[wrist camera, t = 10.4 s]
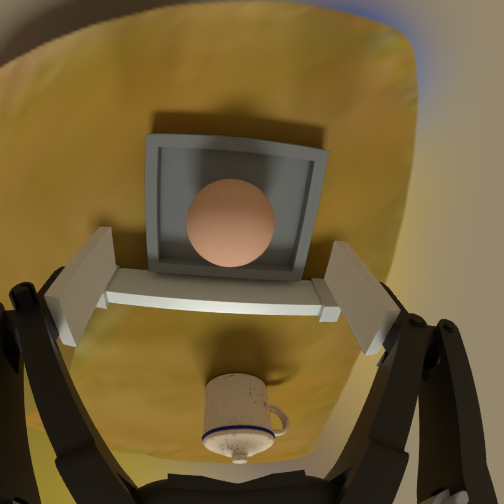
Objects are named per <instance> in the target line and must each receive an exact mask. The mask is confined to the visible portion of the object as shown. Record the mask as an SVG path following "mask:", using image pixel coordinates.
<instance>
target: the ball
mask: <svg viewBox="0 0 504 504" xmlns="http://www.w3.org/2000/svg"><path fill="white" fill-rule="evenodd" d="M186 227H187V233H188V237H189V240H190V242H191V244H192V246H193V247H194V249H195V250H196V251H197V252H198V253H199V255H201V256H202V257H203V258H204V259H206V260H207V261H209V262H211V263H213V264H216V265H219V266H223V267H238V266H242V265H245V264H248V263H250V262H252V261H253V260H255V259H256V258H258V257H259V256H260V255H261V254H262V253H263V252H264V251H265V250H266V248H267V247H268V245H269V243H270V242H271V239H272V237H273V233H274V227H275V218H274V213H273V209H272V206H271V204H270V202H269V200H268V199H267V197H266V196H265V194H264V193H263V192H262V191H261V190H260V189H258V188H257V187H256V186H254V185H252V184H251V183H248V182H246V181H243V180H239V179H223V180H218V181H216V182H213V183H211V184H209V185H207V186H206V187H204V188H203V189H202V190H201V191H200V192H199V193H198V194H197V195H196V196H195V198H194V199H193V201H192V202H191V204H190V207H189V209H188V213H187V219H186Z"/></svg>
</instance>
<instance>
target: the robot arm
mask: <svg viewBox="0 0 504 504" xmlns="http://www.w3.org/2000/svg"><path fill="white" fill-rule="evenodd" d="M115 270H116V262H115V255H114V247H113V239H112V229H111V227H99V228H98V229H97V230H96V231H95V233H94V234H93V235H92V236H91V237H90V238H89V239H88V240H87V242H86V243H85V244H84V245H83V246H82V247H81V249H80V250H79V251H78V252H77V253H76V254H75V256H74V257H73V258H72V259H71V261H70V262H69V263H68V264H67V265H66V267H63V266H62V267H60V268H59V269H57V270H56V271H54V273H53V274H52V275H51V276H50V279H48V280H47V281H46V284H44V285H43V287H42V288H41V289H40V291H39V292H38V293H36V290H35V287H34V285H33V284H32V283H30V282H23V283H20V284H17V285H16V286H14V287H13V288H12V289H11V291H10V292H9V297H10V300H11V302H12V305H13V307H14V310H8V311H5V308H4V306H3V304H2V303H1V302H0V504H41V500H40V496H39V491H38V487H37V483H36V479H35V475H34V471H33V466H32V461H31V456H30V451H29V444H28V437H27V429H26V419H25V407H24V363H25V368H26V372H27V376H28V379H29V383H30V386H31V389H32V393H33V396H34V400H35V403H36V406H37V409H38V411H39V414H40V417H41V420H42V422H43V425H44V428H45V430H46V433H47V435H48V437H49V440H50V442H51V444H52V446H53V448H54V451H55V453H56V456H57V458H56V459H55V464H56V467H57V469H58V471H59V473H60V475H61V477H62V479H63V481H64V483H65V484H66V486H67V488H68V490H69V491H70V493H71V495H72V496H73V498H74V500H75V502H76V503H77V504H392V503H393V501H394V498H395V496H396V494H397V491H398V489H399V486H400V483H401V481H402V478H403V475H404V472H405V469H406V466H407V463H408V459H409V454H408V453H407V452H405V451H404V448H405V445H406V441H407V438H408V434H409V431H410V427H411V423H412V419H413V415H414V410H415V406H416V402H417V397H418V396H419V397H418V398H419V427H420V428H419V437H420V439H419V440H420V441H419V465H418V478H417V504H498V502H497V498H496V495H495V491H494V487H493V484H492V480H491V477H490V474H489V470H488V468H487V463H486V450H485V440H484V432H483V425H482V418H481V413H480V407H479V402H478V397H477V393H476V388H475V384H474V380H473V376H472V372H471V368H470V365H469V361H468V357H467V354H466V351H465V348H464V345H463V341H462V338H461V335H460V332H459V330H458V328H457V326H456V325H455V324H454V323H453V322H452V321H450V320H447V319H441V320H440V321H439V322H438V324H437V326H430V325H427V323H426V322H425V320H424V319H423V318H422V317H420V316H418V315H416V314H413V313H408V312H407V310H406V309H405V308H404V307H403V305H402V304H401V303H400V301H399V300H398V299H397V297H396V296H395V295H394V294H393V292H392V291H391V290H390V289H389V287H387V286H386V285H385V284H383V283H382V282H379V281H378V280H377V279H376V278H375V276H374V275H373V274H372V273H371V271H370V270H369V269H368V268H367V266H366V265H365V264H364V263H363V262H362V260H361V259H360V258H359V257H358V256H357V254H356V253H355V252H354V251H353V250H352V248H351V247H350V246H349V245H348V244H347V243H346V241H334V245H333V248H332V252H331V256H330V259H329V263H328V266H327V270H326V273H325V277H324V280H325V282H326V284H327V286H328V287H329V289H330V291H331V293H332V295H333V296H334V298H335V300H336V302H337V304H338V306H339V307H340V309H341V311H342V313H343V315H344V317H345V319H346V321H347V322H348V324H349V326H350V328H351V330H352V332H353V334H354V336H355V338H356V340H357V342H358V344H359V346H360V348H361V349H362V351H363V353H364V355H372V354H377V353H378V352H379V350H380V348H381V347H382V345H383V346H384V348H385V350H386V351H385V352H384V354H383V356H382V357H381V359H380V361H379V362H378V364H377V366H379V368H378V370H377V373H376V376H375V379H374V381H373V384H372V387H371V389H370V392H369V394H368V397H367V399H366V402H365V404H364V406H363V409H362V411H361V413H360V416H359V418H358V420H357V422H356V425H355V427H354V429H353V431H352V433H351V435H350V437H349V439H348V441H347V443H346V445H345V447H344V449H343V451H342V453H341V455H340V457H339V459H338V460H337V462H336V464H335V465H334V467H333V468H332V469H331V471H330V472H329V473H328V474H327V476H326V477H325V478H324V479H321V478H317V477H313V476H306V475H305V471H304V470H299V471H292V472H284V473H275V474H270V475H267V476H264V477H261V478H258V479H254V480H251V481H247V482H244V483H239V484H238V483H231V482H226V481H221V480H216V479H212V478H208V477H204V476H192V475H179V474H168V479H164V480H159V481H155V482H151V483H149V484H146V485H144V486H142V487H140V488H138V487H137V486H136V485H135V484H134V482H133V481H132V480H131V479H130V477H129V476H128V475H127V474H126V473H125V471H124V470H123V469H122V468H121V466H120V465H119V463H118V462H117V461H116V459H115V458H114V456H113V455H112V453H111V452H110V450H109V448H108V447H107V445H106V444H105V442H104V440H103V439H102V437H101V436H100V434H99V432H98V430H97V429H96V427H95V425H94V423H93V422H92V420H91V418H90V416H89V414H88V412H87V411H86V409H85V407H84V405H83V403H82V401H81V399H80V397H79V395H78V392H77V390H76V388H75V386H74V384H73V382H72V379H71V377H70V375H69V372H68V370H67V368H66V365H65V363H64V360H63V358H62V355H61V352H60V350H59V347H58V345H57V342H56V340H57V338H58V336H60V338H61V340H62V343H63V344H65V345H70V346H74V347H77V345H78V343H79V341H80V339H81V336H82V334H83V332H84V330H85V328H86V326H87V324H88V321H89V319H90V317H91V315H92V313H93V311H94V309H95V307H96V305H97V303H98V301H99V299H100V297H101V296H102V294H103V292H104V290H105V288H106V286H107V284H108V282H109V281H110V279H111V277H112V275H113V273H114V272H115Z"/></svg>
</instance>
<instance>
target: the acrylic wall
mask: <svg viewBox="0 0 504 504" xmlns="http://www.w3.org/2000/svg"><path fill="white" fill-rule="evenodd" d="M110 302H112V303H120V304H129V305H137V306H147V307H157V308H167V309H179V310H191V311H205V312H221V313H240V314H266V315H317V318H318V320H319V322H337V320H338V317H339V315H340V312H341V309H340V307H339V306H338V304H337V302H336V300H335V298H334V296H333V295H332V293H331V291H330V289H329V287H328V286H327V284H326V282H325V280H324V279H323V278H311V280H301V281H284V280H264V279H246V278H229V277H214V276H199V275H185V274H172V273H160V272H149V270H139V269H127V268H120V266H119V265H116V270H115V272H114V273H113V275H112V277H111V279H110V281H109V282H108V284H107V286H106V288H105V290H104V292H103V294H102V296H101V297H100V299H99V301H98V303H97V305H96V307H99V308H106V309H107V307H108V305H109V303H110Z"/></svg>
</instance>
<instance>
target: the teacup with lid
mask: <svg viewBox="0 0 504 504" xmlns="http://www.w3.org/2000/svg"><path fill="white" fill-rule="evenodd" d="M269 411H270V412H273V413H275V414H277V415H278V416H279V418H280V419H281V421H282V423H283V429H281V430H272V426H271V419H270V412H269ZM289 426H290V423H289V419H288V417H287V415H286V413H285V412H284V411H283V410H282V409H280V408H279V407H277V406H274V405H269V404H268V397H267V390H266V386H265V384H264V382H263V381H262V380H260V379H259V378H257V377H255V376H252V375H248V374H242V373H231V374H225V375H221V376H218V377H216V378H214V379H212V380H211V381H210V382H209V383H208V384H207V386H206V388H205V412H204V435H203V436H202V441H203V444H204V445H205V447H206V448H207V449H209V450H211V451H213V452H216V453H220V454H223V455H225V456H228V457H231V460H232V462H234V463H238V464H239V463H240V464H241V463H246V462H247V461H248V457H249V456H252V455H254V454H256V453H258V452H261V451H264V450H266V449H268V448H269V447H270V446H272V444H273V443H274V439H275V436H280V435H282V434H284V433H285V432H286V431H287V430H288V429H289Z"/></svg>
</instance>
